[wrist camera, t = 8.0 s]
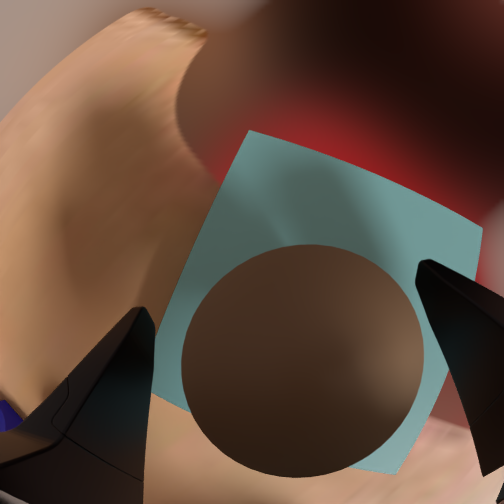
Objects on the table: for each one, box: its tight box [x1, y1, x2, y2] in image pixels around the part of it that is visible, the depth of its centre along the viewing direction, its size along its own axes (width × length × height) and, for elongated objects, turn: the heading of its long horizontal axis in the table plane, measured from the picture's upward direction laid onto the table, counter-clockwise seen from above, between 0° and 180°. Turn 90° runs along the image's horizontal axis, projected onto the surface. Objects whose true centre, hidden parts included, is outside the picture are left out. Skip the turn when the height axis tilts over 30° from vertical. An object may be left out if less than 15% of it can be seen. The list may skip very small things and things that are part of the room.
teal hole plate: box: [151, 130, 482, 475], centre depth 15 cm, size 15×15×4 cm
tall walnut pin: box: [181, 244, 424, 478], centre depth 10 cm, size 4×4×12 cm
